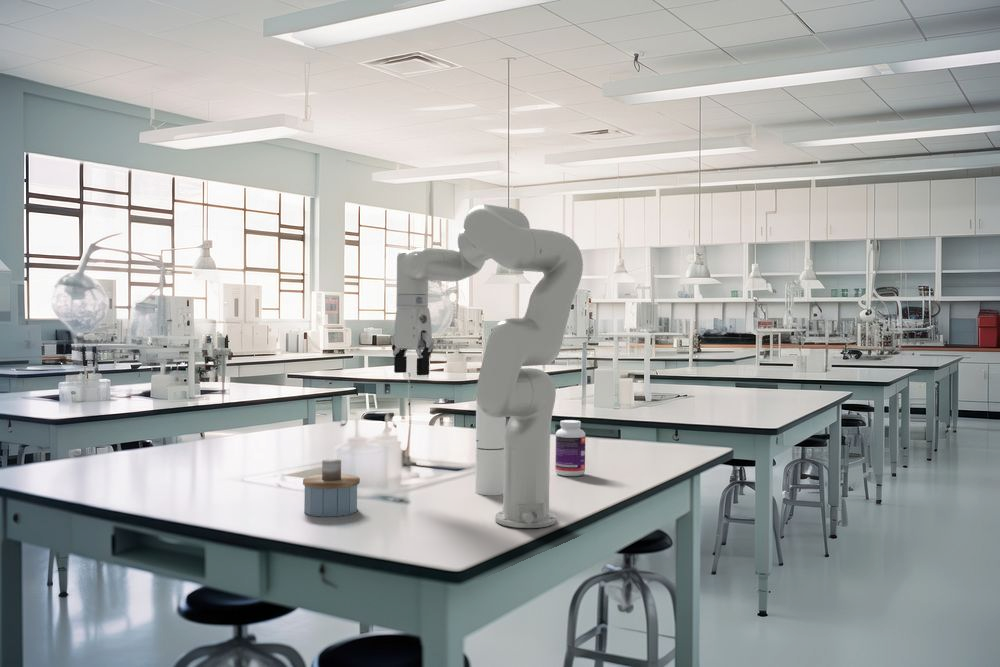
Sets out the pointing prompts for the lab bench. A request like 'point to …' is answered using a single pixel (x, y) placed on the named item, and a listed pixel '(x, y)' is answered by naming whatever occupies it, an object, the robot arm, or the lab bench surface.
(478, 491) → the cylindrical container
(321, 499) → the bowl
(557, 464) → the pill bottle
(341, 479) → the lid
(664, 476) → the lab bench surface
